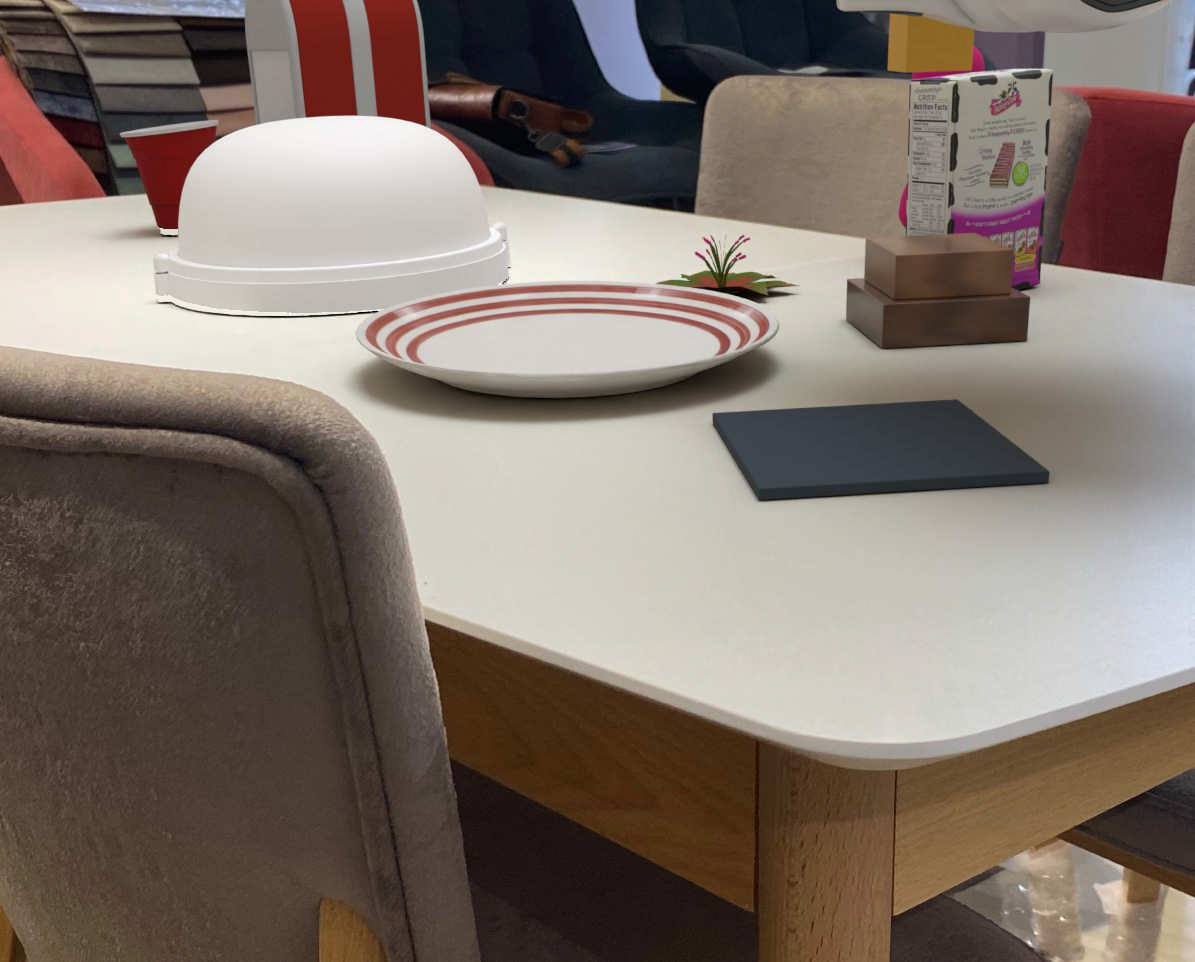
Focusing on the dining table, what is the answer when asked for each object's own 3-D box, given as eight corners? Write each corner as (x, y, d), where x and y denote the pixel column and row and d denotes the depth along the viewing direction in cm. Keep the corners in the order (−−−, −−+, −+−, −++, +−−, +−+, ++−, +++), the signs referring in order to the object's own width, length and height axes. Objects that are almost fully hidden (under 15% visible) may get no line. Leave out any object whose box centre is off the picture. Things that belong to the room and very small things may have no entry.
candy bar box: (991, 279, 118) (1005, 68, 112) (1041, 286, 115) (1058, 68, 108) (897, 298, 112) (906, 75, 106) (947, 306, 109) (959, 76, 102)
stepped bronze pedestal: (978, 313, 106) (984, 230, 104) (1027, 341, 97) (1034, 250, 94) (845, 320, 105) (848, 236, 103) (881, 349, 96) (885, 258, 94)
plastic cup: (153, 227, 169) (137, 120, 164) (244, 224, 168) (230, 117, 164) (121, 241, 159) (103, 128, 154) (217, 238, 158) (202, 124, 154)
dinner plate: (864, 356, 94) (865, 305, 93) (558, 447, 77) (555, 386, 76) (576, 309, 113) (575, 267, 112) (278, 375, 95) (272, 325, 94)
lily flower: (620, 292, 119) (619, 236, 117) (737, 275, 125) (737, 221, 123) (705, 314, 109) (705, 252, 108) (827, 294, 115) (828, 235, 113)
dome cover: (461, 246, 146) (451, 100, 141) (569, 290, 120) (562, 114, 115) (137, 277, 135) (113, 120, 130) (180, 333, 109) (151, 141, 104)
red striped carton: (439, 200, 183) (422, -30, 173) (309, 214, 175) (283, -27, 165) (386, 190, 197) (367, -24, 186) (262, 203, 188) (235, -21, 178)
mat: (956, 409, 81) (957, 398, 81) (1049, 483, 68) (1050, 470, 68) (712, 423, 80) (712, 412, 80) (759, 500, 68) (759, 488, 67)
